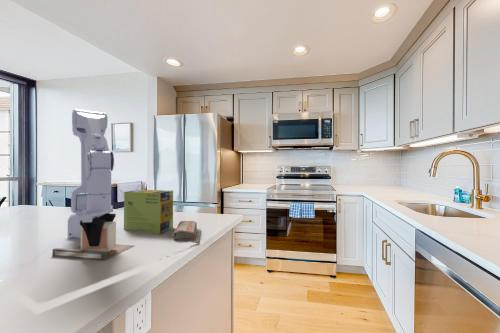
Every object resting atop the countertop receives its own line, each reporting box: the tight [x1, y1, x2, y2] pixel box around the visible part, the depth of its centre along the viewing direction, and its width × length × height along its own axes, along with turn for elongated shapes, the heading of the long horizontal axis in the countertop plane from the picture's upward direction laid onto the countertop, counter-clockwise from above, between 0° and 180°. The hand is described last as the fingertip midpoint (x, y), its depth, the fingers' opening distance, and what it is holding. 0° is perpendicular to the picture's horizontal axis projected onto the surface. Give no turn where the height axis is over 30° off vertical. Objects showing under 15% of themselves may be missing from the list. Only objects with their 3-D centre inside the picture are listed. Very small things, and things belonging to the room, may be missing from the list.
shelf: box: [51, 243, 135, 261], centre depth 70 cm, size 16×12×3 cm
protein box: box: [123, 189, 174, 235], centre depth 98 cm, size 10×15×16 cm
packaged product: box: [169, 220, 201, 245], centre depth 88 cm, size 18×5×10 cm
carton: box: [80, 221, 117, 252], centre depth 69 cm, size 5×7×7 cm
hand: (98, 242), depth 69 cm, fingers closed on carton, 5 cm apart
